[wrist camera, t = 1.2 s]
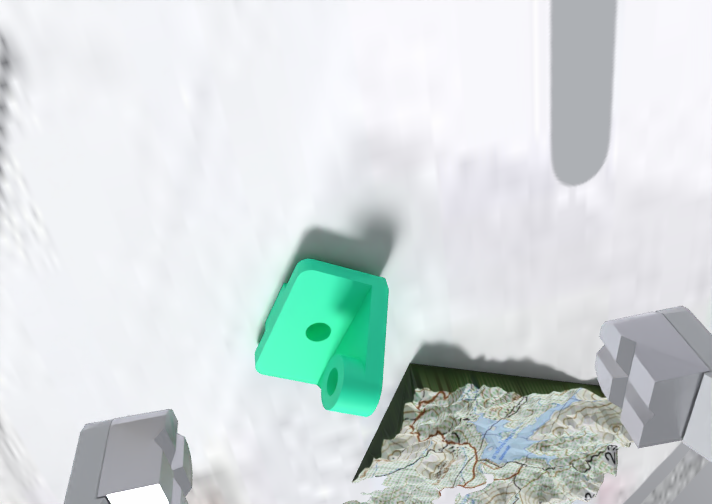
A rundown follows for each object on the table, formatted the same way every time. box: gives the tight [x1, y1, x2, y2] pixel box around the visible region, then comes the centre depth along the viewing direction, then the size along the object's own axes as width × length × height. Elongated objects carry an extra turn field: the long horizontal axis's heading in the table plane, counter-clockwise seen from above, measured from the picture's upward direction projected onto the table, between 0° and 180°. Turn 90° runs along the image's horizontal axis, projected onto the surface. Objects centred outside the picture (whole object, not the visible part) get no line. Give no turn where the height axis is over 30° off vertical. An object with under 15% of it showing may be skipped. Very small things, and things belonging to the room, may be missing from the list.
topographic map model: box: [343, 363, 635, 504], centre depth 74 cm, size 36×29×5 cm
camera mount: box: [255, 259, 389, 417], centre depth 52 cm, size 12×8×10 cm, turn 156°
